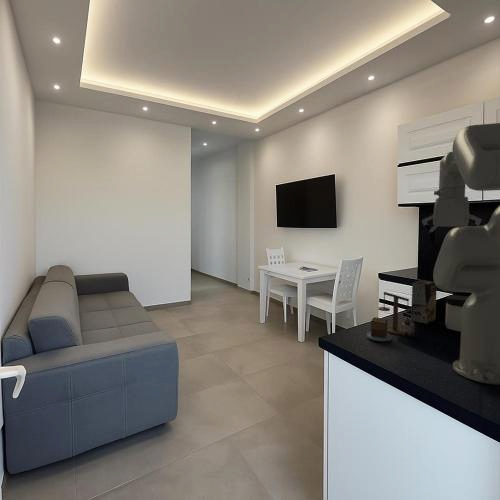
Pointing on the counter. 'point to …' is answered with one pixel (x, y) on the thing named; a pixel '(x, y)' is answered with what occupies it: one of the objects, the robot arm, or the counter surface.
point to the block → (379, 327)
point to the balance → (396, 316)
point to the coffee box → (423, 301)
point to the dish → (387, 338)
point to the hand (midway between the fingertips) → (449, 243)
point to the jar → (454, 312)
